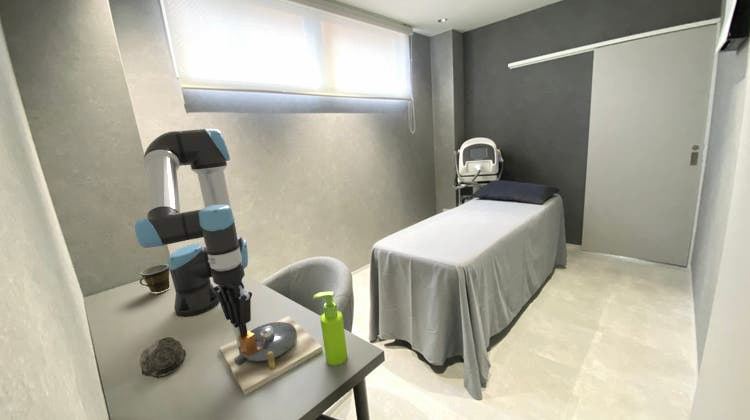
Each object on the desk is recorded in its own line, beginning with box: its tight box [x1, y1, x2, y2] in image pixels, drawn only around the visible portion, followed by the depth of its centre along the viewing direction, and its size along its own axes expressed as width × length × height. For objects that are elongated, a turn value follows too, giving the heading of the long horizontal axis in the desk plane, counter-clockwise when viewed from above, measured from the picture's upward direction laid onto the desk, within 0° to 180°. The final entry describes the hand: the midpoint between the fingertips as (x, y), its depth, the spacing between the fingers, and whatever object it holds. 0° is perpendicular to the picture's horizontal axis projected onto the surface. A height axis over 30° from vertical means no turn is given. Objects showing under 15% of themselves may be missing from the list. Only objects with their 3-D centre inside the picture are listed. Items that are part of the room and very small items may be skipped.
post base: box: [219, 315, 323, 396], centre depth 92 cm, size 22×22×6 cm
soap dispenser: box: [312, 291, 348, 366], centre depth 85 cm, size 6×7×20 cm
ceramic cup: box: [139, 263, 170, 293], centre depth 134 cm, size 13×10×10 cm
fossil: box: [139, 336, 187, 379], centre depth 89 cm, size 11×9×10 cm
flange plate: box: [234, 321, 297, 366], centre depth 90 cm, size 18×16×6 cm
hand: (243, 343), depth 88 cm, fingers closed
